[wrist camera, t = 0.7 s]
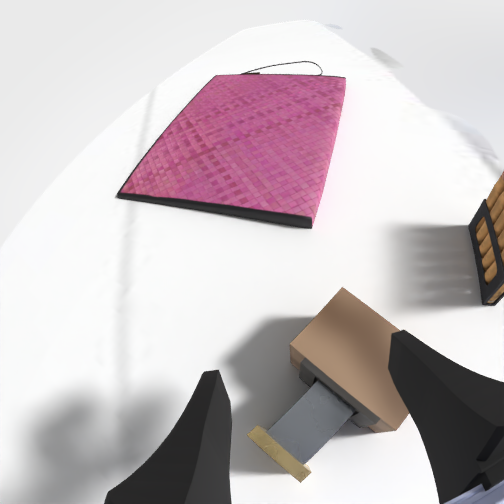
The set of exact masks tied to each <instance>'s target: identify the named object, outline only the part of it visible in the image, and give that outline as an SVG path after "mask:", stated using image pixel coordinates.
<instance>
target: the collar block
mask: <svg viewBox="0 0 504 504" xmlns="http://www.w3.org/2000/svg"><path fill="white" fill-rule="evenodd" d="M398 331H400V330H399V329H398V328H396V327H395V326H394V325H392V324H391V323H390V322H388V321H387V320H386V319H384V318H383V317H382V316H380V315H379V314H378V313H376V312H375V311H374V310H372V309H371V308H370V307H369V306H367V305H366V304H365V303H363V302H362V301H361V300H359V299H358V298H357V297H355V296H354V295H352V294H351V293H350V292H348V291H347V290H346V289H344V288H343V287H342V288H341V289H340V290H339V291H338V292H337V294H336V295H335V296H334V297H333V298H332V299H331V300H330V301H329V302H328V304H327V305H326V306H325V307H324V308H323V309H322V310H321V311H320V312H319V313H318V314H317V316H316V317H315V318H314V319H313V320H312V321H311V322H310V323H309V324H308V325H307V326H306V327H305V328H304V329H303V330H302V331H301V333H300V334H299V335H298V336H297V337H296V338H295V339H294V340H293V341H292V342H291V343H290V359H291V363H292V364H293V365H294V366H295V367H296V368H297V369H298V370H300V376H299V378H300V379H301V380H302V381H304V382H305V383H306V384H307V385H308V386H310V387H312V386H313V385H314V384H315V383H316V382H317V380H320V381H321V382H322V383H323V384H324V385H326V386H327V387H328V388H329V389H330V390H332V391H333V392H334V393H335V394H336V395H338V396H339V397H340V398H341V399H343V400H344V401H345V402H346V403H347V404H349V405H350V406H351V407H352V408H354V409H355V410H356V411H355V412H354V413H353V414H352V415H351V417H350V418H349V420H351V421H352V422H353V423H354V424H356V425H357V426H358V427H359V428H360V427H365V426H368V427H369V428H370V429H371V430H373V431H374V432H375V433H381V432H388V431H396V430H397V429H398V427H399V426H400V425H401V424H402V422H403V421H404V420H405V418H406V417H407V416H408V414H409V411H408V409H407V407H406V406H405V404H404V402H403V400H402V398H401V397H400V395H399V393H398V391H397V389H396V387H395V385H394V383H393V380H392V378H391V375H390V372H389V370H388V362H389V353H390V343H391V333H395V332H398Z"/></svg>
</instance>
